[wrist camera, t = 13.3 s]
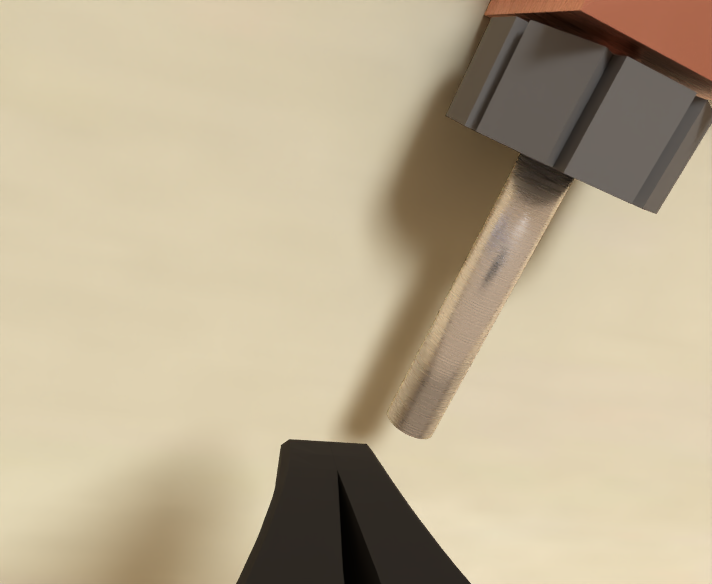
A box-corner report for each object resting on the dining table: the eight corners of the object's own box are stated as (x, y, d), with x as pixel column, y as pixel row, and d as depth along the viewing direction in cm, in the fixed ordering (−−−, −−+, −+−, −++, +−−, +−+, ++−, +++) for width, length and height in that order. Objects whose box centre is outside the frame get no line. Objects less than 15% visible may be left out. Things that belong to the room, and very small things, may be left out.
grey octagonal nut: (429, 106, 17) (488, 138, 12) (470, 18, 16) (549, 14, 12) (588, 179, 18) (697, 234, 14) (632, 100, 18) (764, 128, 13)
